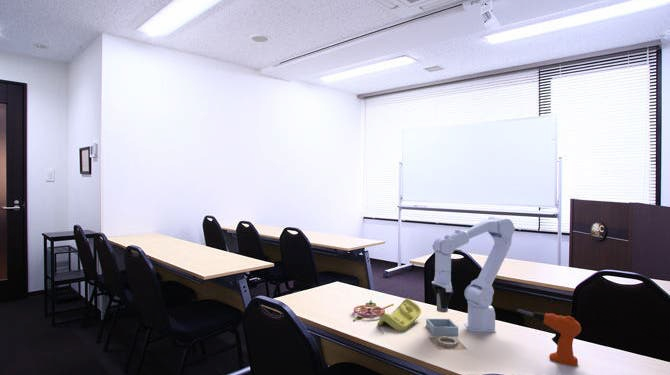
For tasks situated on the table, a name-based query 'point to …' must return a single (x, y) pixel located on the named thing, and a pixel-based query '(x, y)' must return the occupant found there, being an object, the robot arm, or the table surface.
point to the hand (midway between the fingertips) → (442, 306)
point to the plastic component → (402, 316)
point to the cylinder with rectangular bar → (440, 305)
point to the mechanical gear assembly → (370, 310)
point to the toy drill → (560, 335)
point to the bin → (442, 327)
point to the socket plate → (447, 343)
